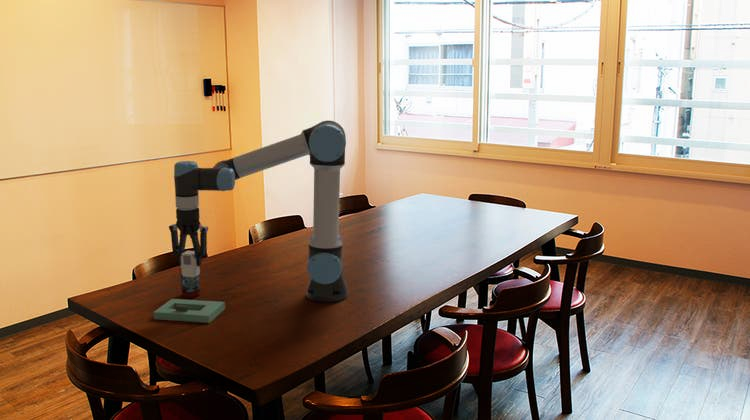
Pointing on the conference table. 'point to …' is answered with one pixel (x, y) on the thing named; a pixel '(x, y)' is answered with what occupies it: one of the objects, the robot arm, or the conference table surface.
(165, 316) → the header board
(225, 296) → the conference table surface
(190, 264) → the plug
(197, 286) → the beverage can
